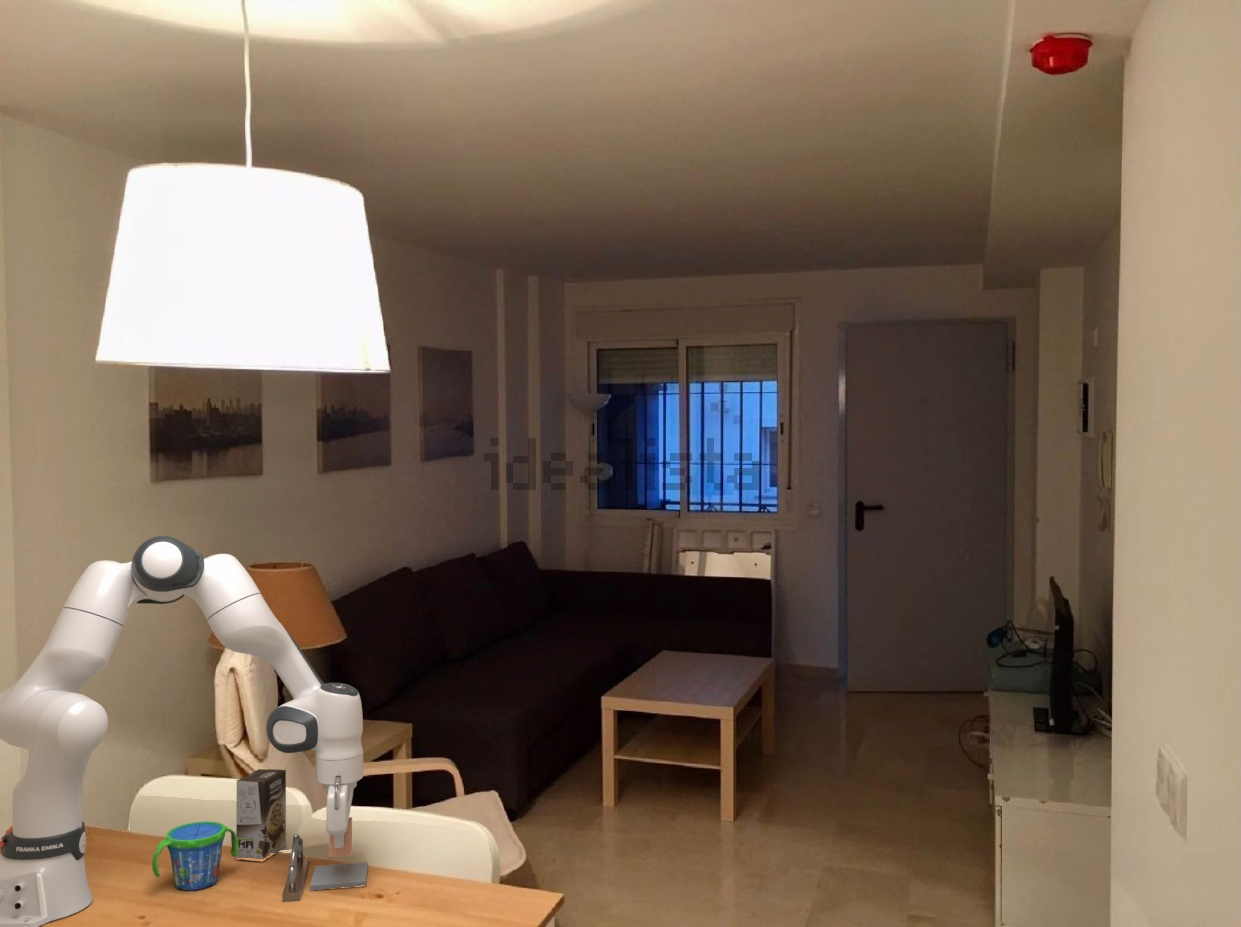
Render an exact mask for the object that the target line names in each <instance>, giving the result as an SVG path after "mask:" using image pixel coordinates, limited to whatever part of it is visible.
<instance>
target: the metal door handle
mask: <svg viewBox="0 0 1241 927" xmlns="http://www.w3.org/2000/svg"><path fill="white" fill-rule="evenodd" d="M308 864H309V865H310V856H304V839H303V838H302V837H301V836H300V834H298V833H296V834H294V835H293V836H292V846H291V853H290V858H289V866H288V875H287V877H286V881H285V883H284V887H283V891H282V896H281V897H282V903H284V902H297V901H301V897H302V893H303V890H304V886H303V885H305V882H304V881H306V878H305V877H307V874H308V870H307V868H308V869H309V867H308ZM306 873H307V874H306ZM302 889H303V890H302Z"/></svg>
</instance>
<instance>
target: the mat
mask: <svg viewBox="0 0 1241 927" xmlns="http://www.w3.org/2000/svg"><path fill="white" fill-rule="evenodd" d="M367 868H369V863H368V861H366V862H365V861H363V862H353V863H351V862H350V863H340V864H339V863H337V864H327V865H326V864H325V865H323V864H322V865H315V866H314V870H313V873H312V876H311V882H310V885H309V887H310V888H309V889H310V890H309V891H310V892H315V891H314V890H319V891H321V890H320V889H331V888H341V887H355V886H361V885H367V879H366V877H367V878H368V870H367Z"/></svg>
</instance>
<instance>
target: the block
mask: <svg viewBox="0 0 1241 927" xmlns="http://www.w3.org/2000/svg"><path fill="white" fill-rule="evenodd" d="M328 846H329V847H328V857H329V858H336V857H338V858H340V857H349V856H350V857H351V856H352V850H353V817H351V816H349V821H348V827H347V831H346V833H344V847H342V848H335V847H334V836H333V834H328Z"/></svg>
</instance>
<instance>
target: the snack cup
mask: <svg viewBox="0 0 1241 927" xmlns="http://www.w3.org/2000/svg"><path fill="white" fill-rule="evenodd" d="M227 832H229V833H230V839H231V850H230V854H231V857H234V858H236V856H237V854H238V849H239V848H238V839H237V836H236V833H235V832H236V831H234V830H233V829H232V828H230V827H229V826H226V825H224V824H223V823H220V822H217V821H195V822H194V821H193V822H189V823H185V824H182V825H179V826H175V827H174V828H172V829H170V830H169V831H168V832H166V835H165V837H164V839H162V840H161V841H160V842H159V843H158V845H157V847H156V848H155V851H154V853H153V855H152V862H151V867H152V871H153V874H154V876H155V877H156V878H160V871H159V870H160V869H159V863H158V859H159V856H160V854H161V853H162V852H163V850H164V849H165V848H166V847H167V850H168V853H169V856H170V861H171V869H172V873H173V875H172V876H173V880H174V884H175V887H176V889H180V890H183V891H185V890H186V891H196V890H197V891H198V890H201V889H205V888H207V887H210V886H213V885H215V883H216V881H218V877H219V873H220V865H221V858H222V852H223V844H224V839H225V837H226V833H227Z"/></svg>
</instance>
